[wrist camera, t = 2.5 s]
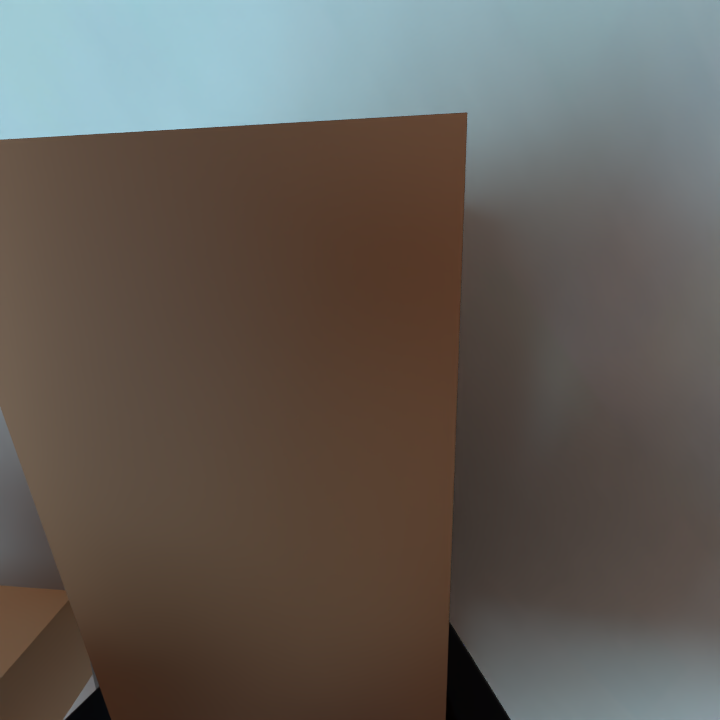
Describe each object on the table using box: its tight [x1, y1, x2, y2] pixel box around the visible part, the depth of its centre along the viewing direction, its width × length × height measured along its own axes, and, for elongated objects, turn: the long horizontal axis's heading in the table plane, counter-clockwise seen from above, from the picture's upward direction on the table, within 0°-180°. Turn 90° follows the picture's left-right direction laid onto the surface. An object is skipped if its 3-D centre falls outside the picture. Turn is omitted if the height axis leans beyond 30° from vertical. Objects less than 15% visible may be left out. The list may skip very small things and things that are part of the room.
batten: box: [0, 113, 467, 720], centre depth 7 cm, size 4×16×4 cm, turn 2°
